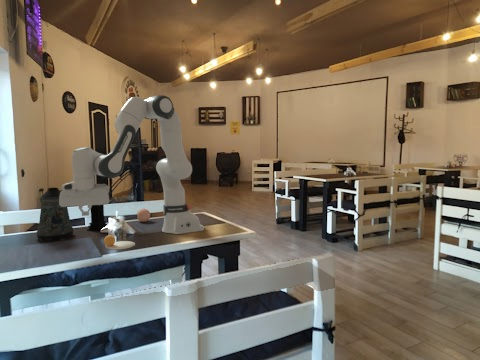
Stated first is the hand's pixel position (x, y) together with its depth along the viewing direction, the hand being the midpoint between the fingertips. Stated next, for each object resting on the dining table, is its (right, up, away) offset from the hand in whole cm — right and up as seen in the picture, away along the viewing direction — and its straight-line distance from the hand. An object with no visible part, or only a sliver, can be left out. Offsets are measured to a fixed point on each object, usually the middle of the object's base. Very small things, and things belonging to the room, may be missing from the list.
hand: (85, 215), depth 155 cm
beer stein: (-26, -13, +22) cm, 37 cm away
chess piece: (-10, -12, +38) cm, 41 cm away
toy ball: (+11, -10, +55) cm, 57 cm away
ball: (+9, -12, +5) cm, 16 cm away
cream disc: (+13, -14, +6) cm, 21 cm away
